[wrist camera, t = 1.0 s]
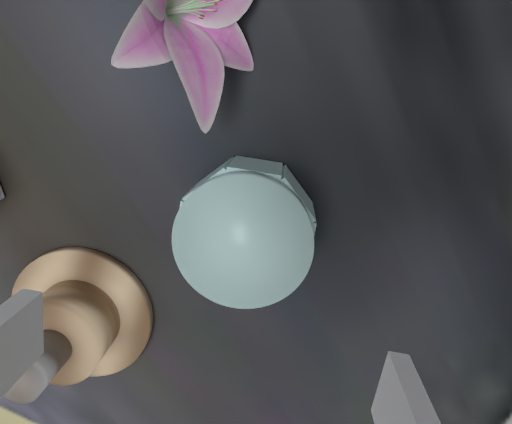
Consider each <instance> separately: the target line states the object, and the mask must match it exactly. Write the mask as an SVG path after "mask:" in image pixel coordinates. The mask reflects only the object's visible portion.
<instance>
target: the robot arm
mask: <svg viewBox="0 0 512 424" xmlns="http://www.w3.org/2000/svg"><path fill="white" fill-rule="evenodd" d="M43 353H44V335H43V294H42V292H41V291H35V290H29V289H21V290H20V291H19V292H17V293H16V294H15V295H13V296H12V297H11V298H9V299H8V300H7V301H5V302H4V303H3V304H1V305H0V399H1V398H2V397H3V396H4V395H5V394H6V393H7V392H8V391H9V390H10V388H11V387H12V386H13V385H14V384H15V383H16V382H17V381H18V380H19V379H20V378H21V377H22V376H23V374H24V373H25V372H26V371H27V370H28V369H29V368H30V367H31V366H32V365H33V364H34V363H35V362H36V361H37V359H38V358H39V357H40V356H41V355H42V354H43ZM371 412H372V416H373V420H374V424H441V423H440V421H439V419H438V417H437V415H436V412H435V410H434V408H433V406H432V404H431V401H430V399H429V397H428V395H427V393H426V391H425V388H424V386H423V384H422V382H421V380H420V377H419V375H418V373H417V371H416V369H415V367H414V364H413V362H412V360H411V358H410V356H409V355H408V354H403V353H397V352H391V351H388V354H387V357H386V360H385V364H384V367H383V371H382V374H381V378H380V381H379V384H378V388H377V391H376V395H375V398H374V401H373V405H372V408H371Z"/></svg>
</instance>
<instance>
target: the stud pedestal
mask: <svg viewBox="0 0 512 424" xmlns="http://www.w3.org/2000/svg"><path fill="white" fill-rule="evenodd" d="M21 289H29V290H35V291H41V292H42V294H43V335H44V353H43V354H42V355H41V356H40V357H39V358H38V359H37V361H36V362H35V363H34V364H33V365H32V366H31V367H30V368H29V369H28V370H27V371H26V372H25V373H24V374H23V376H22V377H21V378H20V379H19V380H18V381H17V382H16V383H15V384H14V385H13V386H12V387H11V388H10V390H9V391H8V392H7V393H6V394H5V395H4V397H6V398H7V399H9V400H10V401H13V402H15V403H20V404H26V403H30V402H33V401H34V400H36V399H37V397H38V396H39V395H40V394H41V392H42V391H43V390H44V389H45V388H46V386H47V385H48V384H53V385H72V384H76V383H78V382H81V381H83V380H84V379H86V378H87V377H88V376H105V375H109V374H113V373H116V372H118V371H121V370H123V369H124V368H126V367H128V366H129V365H130V364H132V363H133V362H134V361H135V360H136V359H137V358H138V357H139V355H140V354H141V353H142V351H143V349H144V348H145V346H146V344H147V342H148V340H149V338H150V335H151V332H152V327H153V310H152V305H151V302H150V298H149V296H148V294H147V291H146V290H145V288H144V286H143V285H142V283H141V282H140V280H139V279H138V278H137V276H136V275H135V274H134V273H133V272H132V271H131V270H130V269H129V268H128V267H126V266H125V265H124V264H123V263H121V262H120V261H118V260H117V259H115V258H113V257H111V256H109V255H107V254H105V253H103V252H100V251H97V250H93V249H89V248H83V247H65V248H59V249H56V250H52V251H50V252H48V253H46V254H43V255H42V256H40V257H39V258H37V259H36V260H34V261H33V262H32V263H30V264H29V265H28V266H27V267H26V268H25V269H24V270H23V271H22V272H21V273H20V275H19V276H18V278H17V280H16V282H15V284H14V287H13V291H12V296H13V295H15V294H16V293H17V292H19V291H20V290H21Z"/></svg>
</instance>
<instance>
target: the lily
mask: <svg viewBox="0 0 512 424" xmlns="http://www.w3.org/2000/svg"><path fill="white" fill-rule="evenodd" d="M252 1H253V0H143V2H142V3H141V4H140V6H139V7H138V9H137V10H136V12H135V14H134V15H133V17H132V18H131V20H130V22H129V24H128V25H127V27H126V29H125V31H124V32H123V34H122V36H121V38H120V40H119V42H118V44H117V46H116V48H115V51H114V53H113V55H112V58H111V65H112V66H114V67H116V68H139V67H148V66H154V65H159V64H163V63H167V62H169V61H171V60H172V61H173V63H174V65H175V68H176V70H177V72H178V74H179V77H180V79H181V81H182V84H183V86H184V88H185V91H186V93H187V96H188V99H189V101H190V104H191V107H192V109H193V112H194V114H195V117H196V120H197V122H198V124H199V126H200V128H201V130H202V131H203V132H204V133H207V132H208V131H209V130H210V128H211V126H212V124H213V122H214V119H215V116H216V113H217V110H218V107H219V103H220V99H221V94H222V90H223V84H224V76H225V73H224V66H227V67H230V68H234V69H238V70H243V71H252V70H253V66H254V63H253V58H252V55H251V52H250V49H249V47H248V44H247V42H246V39H245V37H244V35H243V33H242V31H241V29H240V27H239V25H238V24H237V22H236V21H238V20H239V19H240V18H241V17H242V16H243V15H244V14H245V12H246V11H247V10H248V8H249V6H250V5H251V3H252Z"/></svg>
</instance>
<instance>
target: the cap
mask: <svg viewBox="0 0 512 424" xmlns="http://www.w3.org/2000/svg"><path fill="white" fill-rule="evenodd" d="M316 225H317V222H316V217H315V212H314V208H313V203H312V201H311V199H310V198H309V196H308V195H307V194H306V192H305V191H304V190H303V188H302V187H301V185H300V184H299V183H298V181H297V180H296V179H295V177H294V176H293V174H292V173H291V172H290V170H289V169H288V168H287V166H286V165H284V166H283V163H280V162H274V161H268V160H261V159H255V158H249V157H243V156H235V157H234V156H233V157H231V158H230V159H229V160H227V161H226V162H225V163H223V164H222V165H221V166H219V167H218V168H217V169H215V170H214V171H213V172H211V173H210V174H209V175H207V176H206V177H205V178H203V179H202V180H201V181H199V182H198V183H197V184H196V185H195V186H194V187H193V188H192V189H191V190H190V191H189V192H188V193H187V194H186V195H185V196H184V197H183V198H182V200H181V201H180V209H179V211H178V213H177V215H176V218H175V221H174V224H173V230H172V249H173V254H174V258H175V261H176V263H177V266H178V268H179V270H180V272H181V273H182V275H183V277H184V278H185V279H186V281H187V282H188V283H189V284H190V285H191V286H192V287H193V288H194V289H195V290H196V291H197V292H199V293H200V294H201V295H203V296H204V297H206V298H207V299H209V300H211V301H213V302H215V303H218V304H221V305H223V306H227V307H232V308H239V309H253V308H260V307H264V306H268V305H271V304H274V303H276V302H278V301H280V300H282V299H284V298H285V297H287V296H288V295H289V294H291V293H292V292H293V291H294V290H295V289H296V288H297V287H298V286H299V285H300V284H301V282H302V281H303V280H304V278H305V277H306V275H307V273H308V271H309V269H310V266H311V263H312V260H313V254H314V235H315V230H316Z"/></svg>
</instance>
